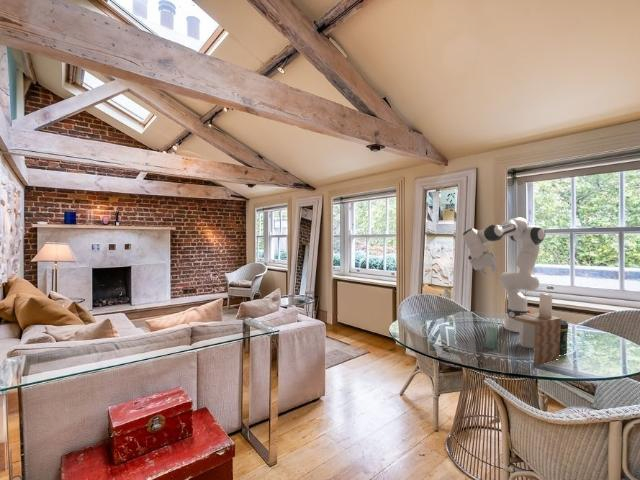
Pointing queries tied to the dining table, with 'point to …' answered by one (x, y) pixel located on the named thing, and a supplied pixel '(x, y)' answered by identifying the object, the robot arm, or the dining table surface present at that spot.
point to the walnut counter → (544, 336)
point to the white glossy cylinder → (545, 305)
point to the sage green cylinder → (491, 337)
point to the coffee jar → (563, 337)
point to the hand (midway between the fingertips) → (490, 273)
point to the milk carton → (527, 335)
